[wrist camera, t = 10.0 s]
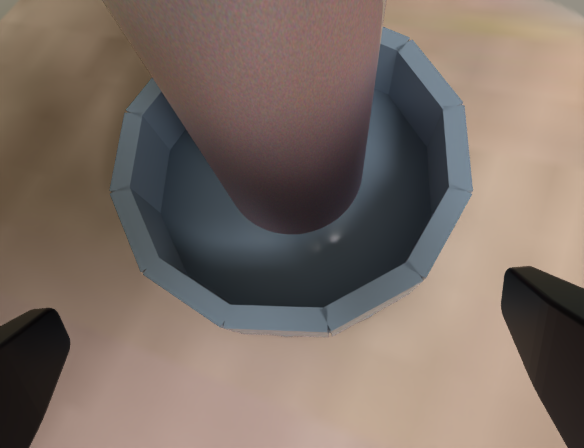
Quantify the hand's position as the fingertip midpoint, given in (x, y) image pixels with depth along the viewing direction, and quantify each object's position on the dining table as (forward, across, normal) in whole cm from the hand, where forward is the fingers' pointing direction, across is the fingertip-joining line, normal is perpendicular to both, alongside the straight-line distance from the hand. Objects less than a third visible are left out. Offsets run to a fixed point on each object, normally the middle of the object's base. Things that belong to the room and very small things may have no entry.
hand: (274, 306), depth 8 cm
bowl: (+12, 0, +2) cm, 12 cm away
